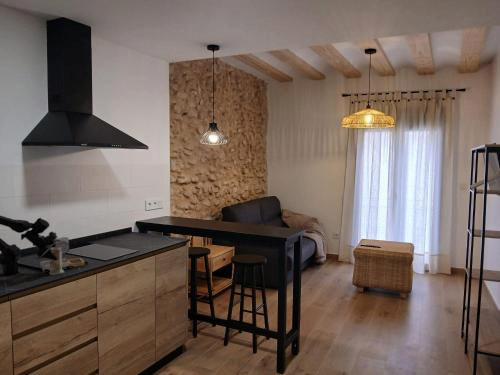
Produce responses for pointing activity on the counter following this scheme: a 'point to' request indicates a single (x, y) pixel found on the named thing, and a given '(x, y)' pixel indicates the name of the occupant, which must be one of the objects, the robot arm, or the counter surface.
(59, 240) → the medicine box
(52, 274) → the pad
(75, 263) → the trap tray
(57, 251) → the beech block
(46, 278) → the counter surface
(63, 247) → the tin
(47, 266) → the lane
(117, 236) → the counter surface
